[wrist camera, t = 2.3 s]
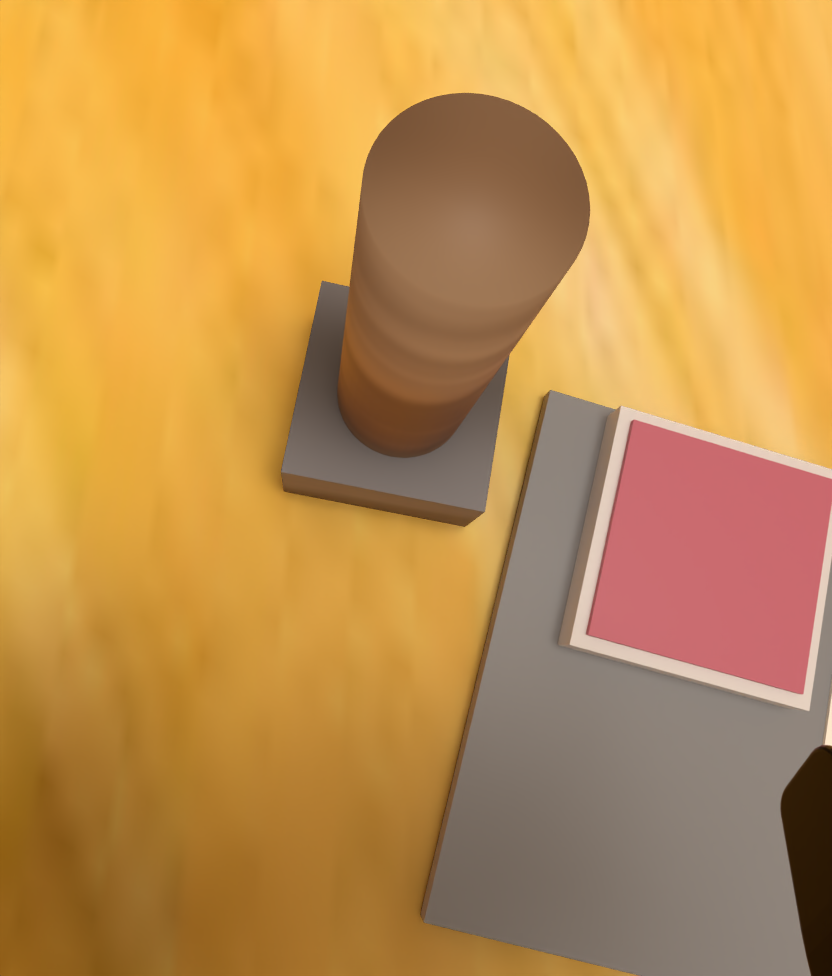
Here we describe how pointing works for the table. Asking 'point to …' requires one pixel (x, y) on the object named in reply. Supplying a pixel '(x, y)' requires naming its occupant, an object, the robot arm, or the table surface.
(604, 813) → the stamp board
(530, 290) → the stamp
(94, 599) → the table surface
